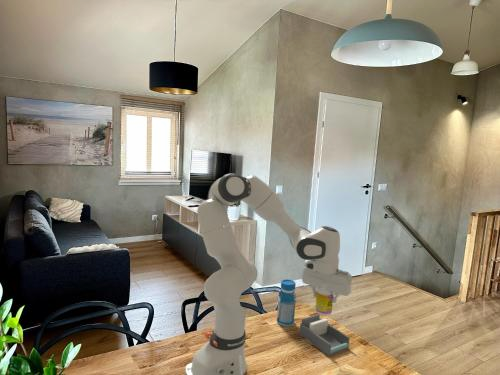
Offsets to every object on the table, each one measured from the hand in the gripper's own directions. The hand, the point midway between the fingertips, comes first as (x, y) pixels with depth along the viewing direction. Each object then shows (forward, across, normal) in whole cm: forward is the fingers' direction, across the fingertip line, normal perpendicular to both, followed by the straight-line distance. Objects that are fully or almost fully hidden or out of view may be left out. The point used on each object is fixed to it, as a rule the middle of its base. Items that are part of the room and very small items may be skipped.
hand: (324, 299), depth 138 cm
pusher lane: (+22, +2, -6) cm, 22 cm away
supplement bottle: (+6, 0, 0) cm, 6 cm away
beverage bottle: (+22, +22, -8) cm, 32 cm away
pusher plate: (+20, +5, -7) cm, 22 cm away
